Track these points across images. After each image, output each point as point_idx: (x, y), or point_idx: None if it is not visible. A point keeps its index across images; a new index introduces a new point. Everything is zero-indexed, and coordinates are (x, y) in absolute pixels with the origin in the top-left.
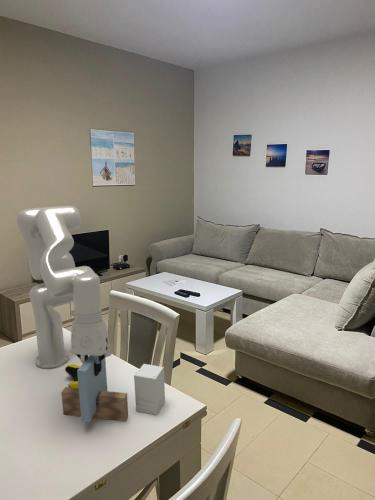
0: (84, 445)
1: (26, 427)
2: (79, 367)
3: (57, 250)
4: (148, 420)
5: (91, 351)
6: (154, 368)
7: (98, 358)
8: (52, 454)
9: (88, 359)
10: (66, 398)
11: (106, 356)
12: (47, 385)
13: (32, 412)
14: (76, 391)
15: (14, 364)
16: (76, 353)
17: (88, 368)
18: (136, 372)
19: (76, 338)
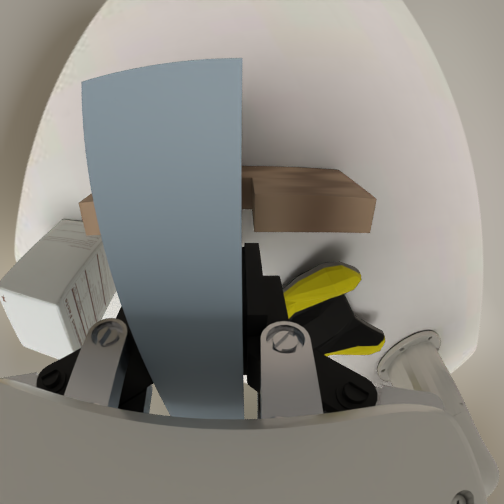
0: (205, 45)
1: (416, 111)
2: (347, 350)
3: None
4: (70, 194)
5: (49, 470)
6: (33, 340)
7: (77, 366)
8: (290, 4)
9: (215, 362)
10: (345, 188)
11: (29, 379)
12: (411, 284)
13: (423, 175)
14: (310, 208)
15: (468, 324)
16: (387, 420)
17: (98, 184)
18: (61, 322)
19: None
